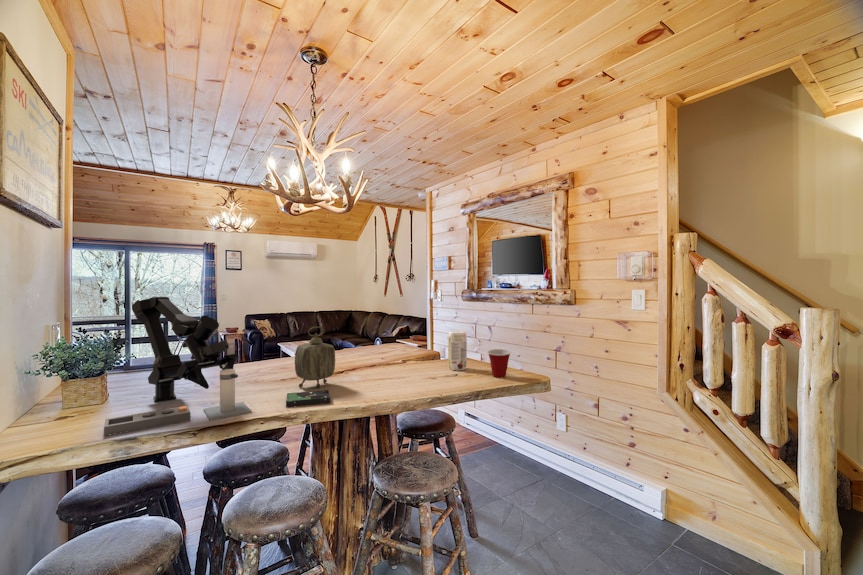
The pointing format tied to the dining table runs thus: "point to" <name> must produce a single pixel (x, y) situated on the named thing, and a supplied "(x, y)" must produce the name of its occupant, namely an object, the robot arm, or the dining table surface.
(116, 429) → the power strip
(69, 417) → the dining table surface
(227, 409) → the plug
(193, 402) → the dining table surface
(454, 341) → the juice carton
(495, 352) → the plastic cup
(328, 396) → the disk drive
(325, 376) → the tabletop clock
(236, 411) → the mat
